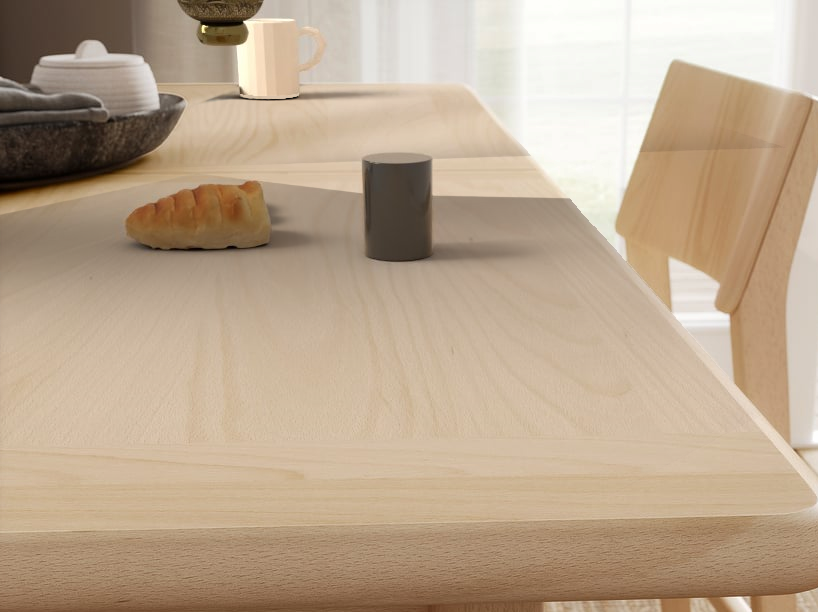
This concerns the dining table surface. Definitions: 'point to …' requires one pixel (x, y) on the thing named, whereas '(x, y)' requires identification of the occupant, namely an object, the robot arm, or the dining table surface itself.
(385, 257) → the dark gray cylinder
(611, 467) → the dining table surface
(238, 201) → the pastry
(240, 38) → the cup
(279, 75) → the mug
